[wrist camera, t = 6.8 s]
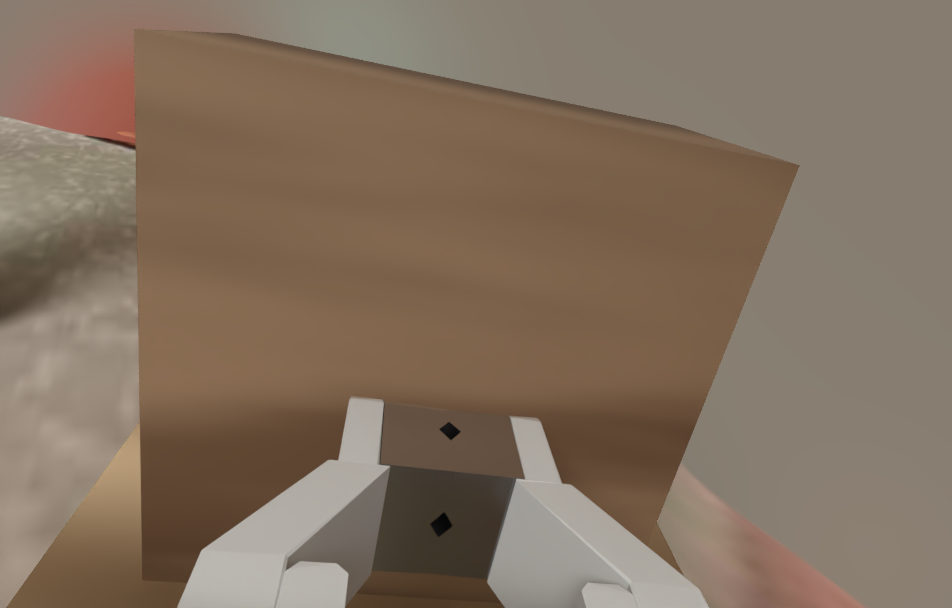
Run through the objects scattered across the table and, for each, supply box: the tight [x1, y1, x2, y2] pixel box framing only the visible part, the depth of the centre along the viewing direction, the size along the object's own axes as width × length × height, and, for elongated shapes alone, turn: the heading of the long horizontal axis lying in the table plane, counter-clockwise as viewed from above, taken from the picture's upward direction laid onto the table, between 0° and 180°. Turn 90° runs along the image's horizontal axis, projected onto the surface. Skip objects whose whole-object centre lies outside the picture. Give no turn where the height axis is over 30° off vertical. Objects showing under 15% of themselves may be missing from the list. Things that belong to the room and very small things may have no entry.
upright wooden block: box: [134, 29, 799, 603], centre depth 15 cm, size 9×10×10 cm
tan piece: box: [6, 422, 683, 608], centre depth 21 cm, size 18×14×6 cm
